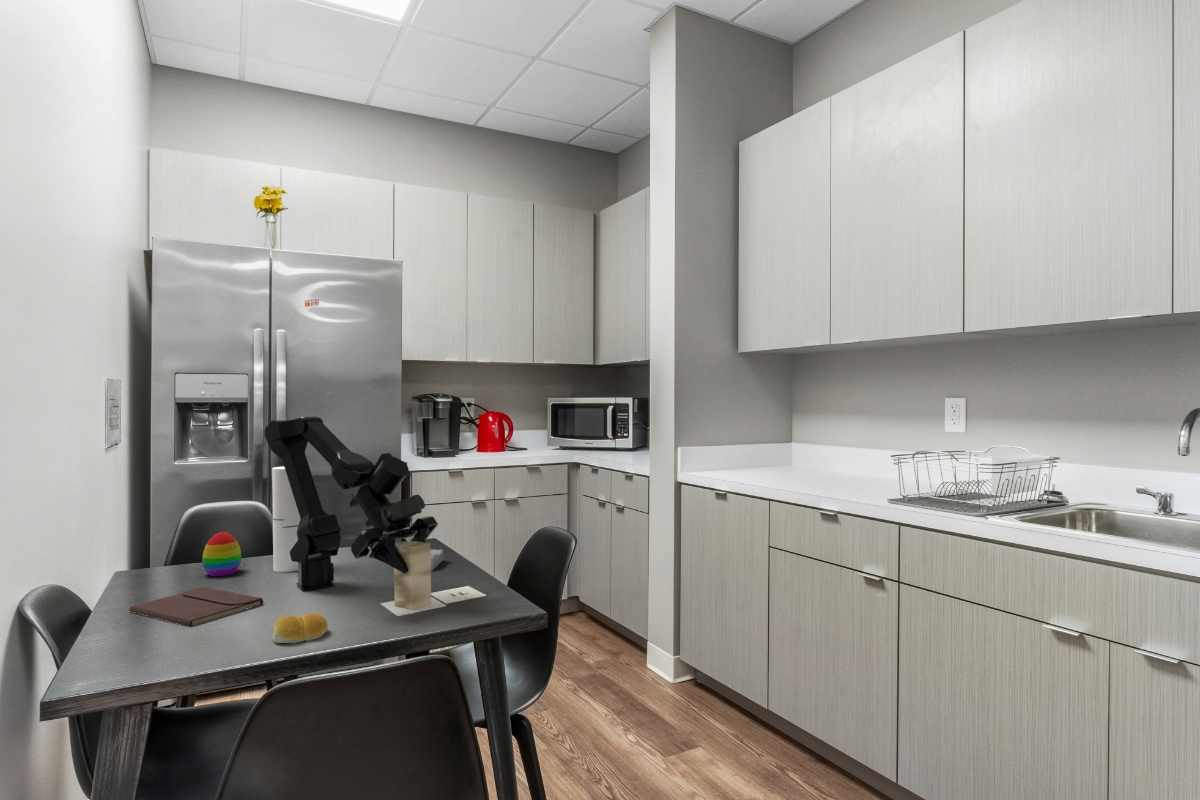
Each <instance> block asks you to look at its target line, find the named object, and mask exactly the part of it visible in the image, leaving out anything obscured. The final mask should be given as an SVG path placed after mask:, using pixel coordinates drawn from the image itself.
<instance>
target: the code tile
mask: <svg viewBox="0 0 1200 800" xmlns="http://www.w3.org/2000/svg"><path fill="white" fill-rule="evenodd" d="M486 596H487V594H485V593H483V592H481V591H479V590H477V589H475V588H473V587H471V586H469V585H466V586H461V587H456V588H450V589H445V590H444V589H443V590H440V591H435V592H431V597H433V598H435V599H436V600H438V601H440V602H441V603H443V604H445V605H447V604H451V603H452V604H453V603H457V602H461V601H467V600H473V599H476V598H482V597H486Z"/></svg>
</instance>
